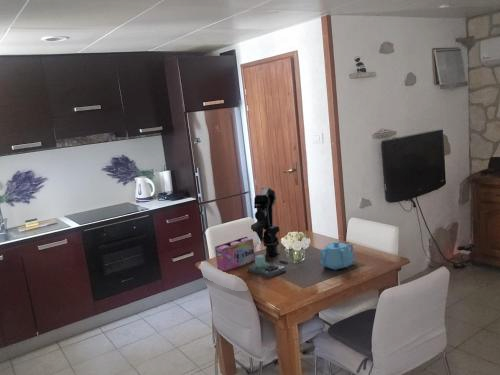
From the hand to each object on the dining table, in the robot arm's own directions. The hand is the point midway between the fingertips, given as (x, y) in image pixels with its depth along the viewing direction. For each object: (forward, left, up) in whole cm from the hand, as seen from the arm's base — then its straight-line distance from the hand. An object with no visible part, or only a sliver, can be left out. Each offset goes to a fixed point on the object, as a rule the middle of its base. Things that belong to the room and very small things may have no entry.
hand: (266, 242), depth 253 cm
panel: (+10, +9, -13) cm, 18 cm away
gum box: (+12, -15, -13) cm, 23 cm away
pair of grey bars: (-2, +7, -13) cm, 14 cm away
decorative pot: (-17, +37, -13) cm, 43 cm away
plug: (+10, +5, -13) cm, 17 cm away
